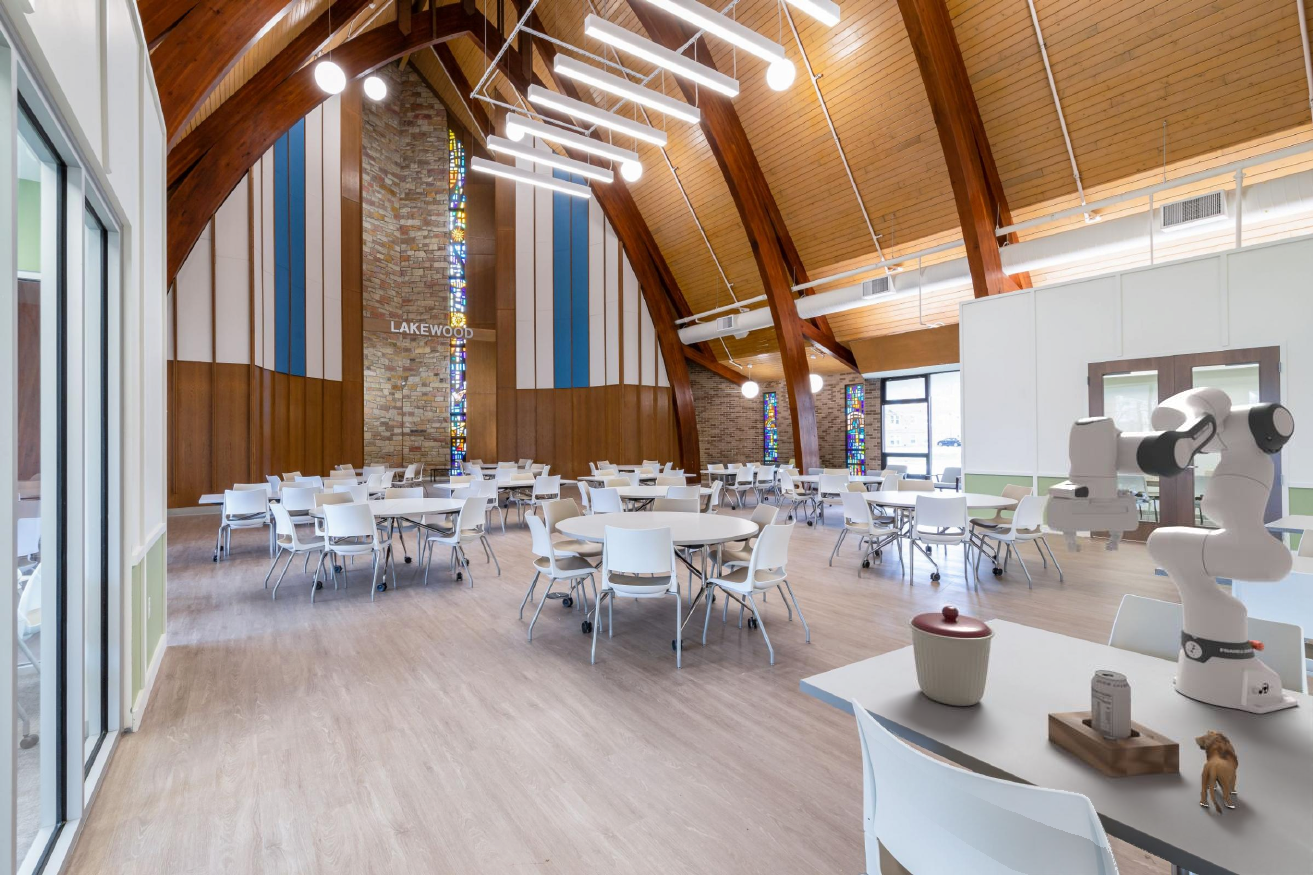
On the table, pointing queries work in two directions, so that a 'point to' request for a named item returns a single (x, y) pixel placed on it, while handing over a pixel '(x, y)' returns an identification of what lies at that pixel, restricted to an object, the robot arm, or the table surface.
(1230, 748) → the lion figurine
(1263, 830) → the table surface
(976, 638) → the canister
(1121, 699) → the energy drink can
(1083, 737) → the block
